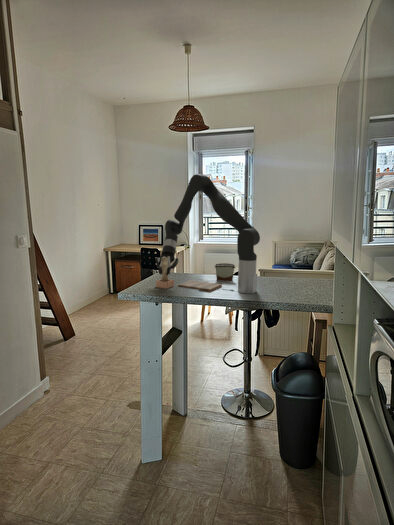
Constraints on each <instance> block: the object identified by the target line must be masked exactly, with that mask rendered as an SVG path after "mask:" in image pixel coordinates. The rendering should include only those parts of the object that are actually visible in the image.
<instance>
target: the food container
mask: <svg viewBox="0 0 394 525" xmlns="http://www.w3.org/2000/svg"><path fill="white" fill-rule="evenodd" d="M214 268H215V272H216V273H215V274H216V275H215V276H216V281H217V282H231V281H232V282H233V278H234V273H235V269H236V266H235V264H233V263H227V262H225V263H220V262H219V263H215V265H214Z"/></svg>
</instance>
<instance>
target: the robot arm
mask: <svg viewBox="0 0 394 525" xmlns="http://www.w3.org/2000/svg"><path fill="white" fill-rule="evenodd" d="M198 192H201V193H203V194H205V195H206V197H207V198H208V199H209V201H210V203H211V206H212V209H213V211H214V212H215V214H216V215H218V217H219V218H220V219H221V220H222V221H223V222H224V223H226V224H228V225H229V226H231V227H232V228H234V229H235V230H236V231H237V232H238V235H237V242H236V244H237V246H236V247H237V249H236V252H237V255H238V271H237V273H238V274H237V292H238V293H240V294H251V295H252V294H255V293H256V292H257V288H258V273H257V262H258V261H257V259H258V258H257V257H258V255H257V253H255V249H254V248H255V247H254V246H256V245H258V244H259V243H260V240H261V235H260V233H259V231H258V230H257V229H256V228H255V227H253V226H252V224H250V223H249V222H248V221H247V220H246V219H245V218H244V217H243V216H242V215H241V213H240V212H239V211H238V210H237V209H236V208H235V206H234V205H233V204H232V203H231V202H230V201H229V200H228V199H227V197H225V195H224V194H223V193H222V192H221V191H220V190H219V189H218V188H217V187H216V184H215V183H214V182H213V181H212V179H211V177H209V176H207V175H205V174H199V173H197V174H196V173H195V174H193V175H192V176H191V178H190V180H189V183H188V185H187V188H186V191H185V193H184V195H183V197H182V200H181V202H180V204H179V205H178V207H177V210H176V211H175V212H174V215H173V216H174V219H175V220H176V221H175V220H173V219H168V220H167V221H166V222H165V224H164V231H165V232H164V233H165V238H164V242H163V245H162V250H161V254H160V256H159V257H155V258H154V261H155V263H156V268H157V269H158V274H159V275H161V276H162V257H168V268H167V275H168V276H169V275H170V274H171V270H174V269H175V268H176V266H177V265H178V264H179V262H180V261H179V258H178V257H175V256H176V251H177V244H178V235H181V233H183V228H184V224H185V221H186V219H187V218H188V216H189V215H190V212H191V209H192V207H193V206H192V205H193V200H194V199H195V196H196V195H197V193H198Z"/></svg>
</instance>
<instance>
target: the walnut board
mask: <svg viewBox="0 0 394 525" xmlns="http://www.w3.org/2000/svg"><path fill="white" fill-rule="evenodd" d="M177 287H179V288H180V287H181V288H186V289H193V290H199V291H201V292H208V293H212V292H213V291H216V290H218V289H220V288H222V287H223V286H222V283H215V282H208V281H199V280H193V279H192V280H191V279H190V280H187V281H184V282H182V283H178V284H177Z"/></svg>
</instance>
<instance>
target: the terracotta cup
mask: <svg viewBox="0 0 394 525" xmlns="http://www.w3.org/2000/svg"><path fill="white" fill-rule="evenodd" d="M174 286H175V280H174V279H169V278H168V281H167V282H164V281H162V278H161V279H157V280H155V288H160V289H169V288H172V287H174Z"/></svg>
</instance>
